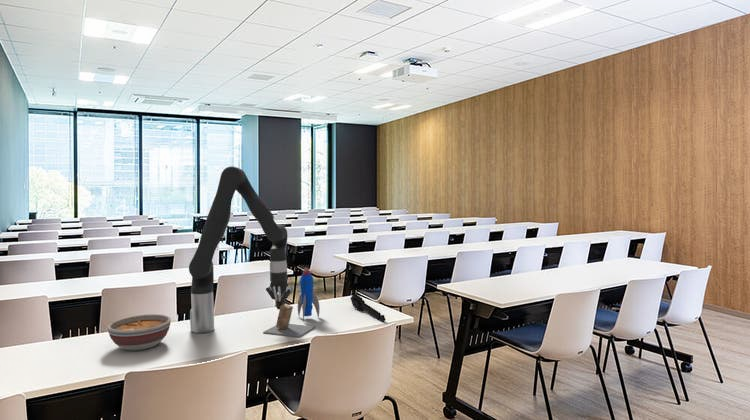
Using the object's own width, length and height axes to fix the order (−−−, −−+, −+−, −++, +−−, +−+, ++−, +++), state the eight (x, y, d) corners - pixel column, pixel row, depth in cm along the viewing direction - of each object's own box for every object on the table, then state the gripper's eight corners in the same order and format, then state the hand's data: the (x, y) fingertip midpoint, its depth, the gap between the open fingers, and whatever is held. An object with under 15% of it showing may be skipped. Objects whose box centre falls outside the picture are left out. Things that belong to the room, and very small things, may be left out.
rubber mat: (263, 333, 208) (263, 331, 208) (280, 324, 221) (280, 322, 221) (299, 337, 202) (299, 336, 202) (315, 327, 215) (315, 326, 215)
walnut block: (275, 326, 212) (280, 305, 210) (280, 324, 215) (285, 303, 214) (283, 330, 210) (288, 308, 209) (288, 327, 214) (293, 306, 213)
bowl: (130, 360, 178) (129, 334, 178) (96, 350, 190) (95, 325, 190) (183, 342, 198) (182, 318, 197) (149, 333, 210) (148, 311, 209)
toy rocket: (319, 317, 232) (318, 266, 231) (315, 322, 223) (314, 269, 221) (298, 316, 233) (296, 265, 232) (292, 322, 224) (291, 269, 222)
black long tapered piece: (387, 323, 223) (387, 307, 222) (380, 324, 221) (380, 308, 220) (354, 305, 254) (354, 291, 253) (348, 306, 252) (348, 292, 251)
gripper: (295, 269, 213) (297, 307, 214) (270, 268, 218) (271, 305, 219) (287, 272, 206) (288, 312, 207) (260, 271, 211) (262, 310, 212)
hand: (279, 308), depth 213 cm, fingers closed
